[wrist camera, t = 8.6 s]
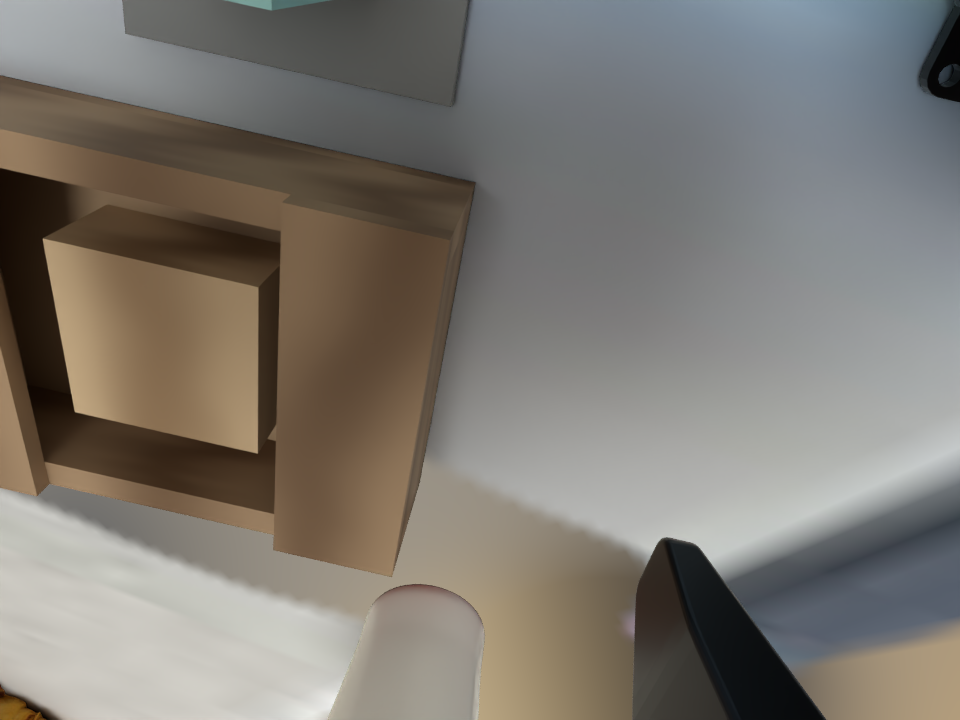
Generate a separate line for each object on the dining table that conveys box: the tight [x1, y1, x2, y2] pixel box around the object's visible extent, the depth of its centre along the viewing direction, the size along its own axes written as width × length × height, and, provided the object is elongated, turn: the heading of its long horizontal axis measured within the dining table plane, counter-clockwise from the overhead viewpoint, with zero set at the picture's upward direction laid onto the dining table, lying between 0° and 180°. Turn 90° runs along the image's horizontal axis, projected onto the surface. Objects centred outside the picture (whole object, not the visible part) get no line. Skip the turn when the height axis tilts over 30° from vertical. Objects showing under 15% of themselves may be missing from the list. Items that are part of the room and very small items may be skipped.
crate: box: [0, 76, 475, 577], centre depth 20 cm, size 16×12×5 cm
